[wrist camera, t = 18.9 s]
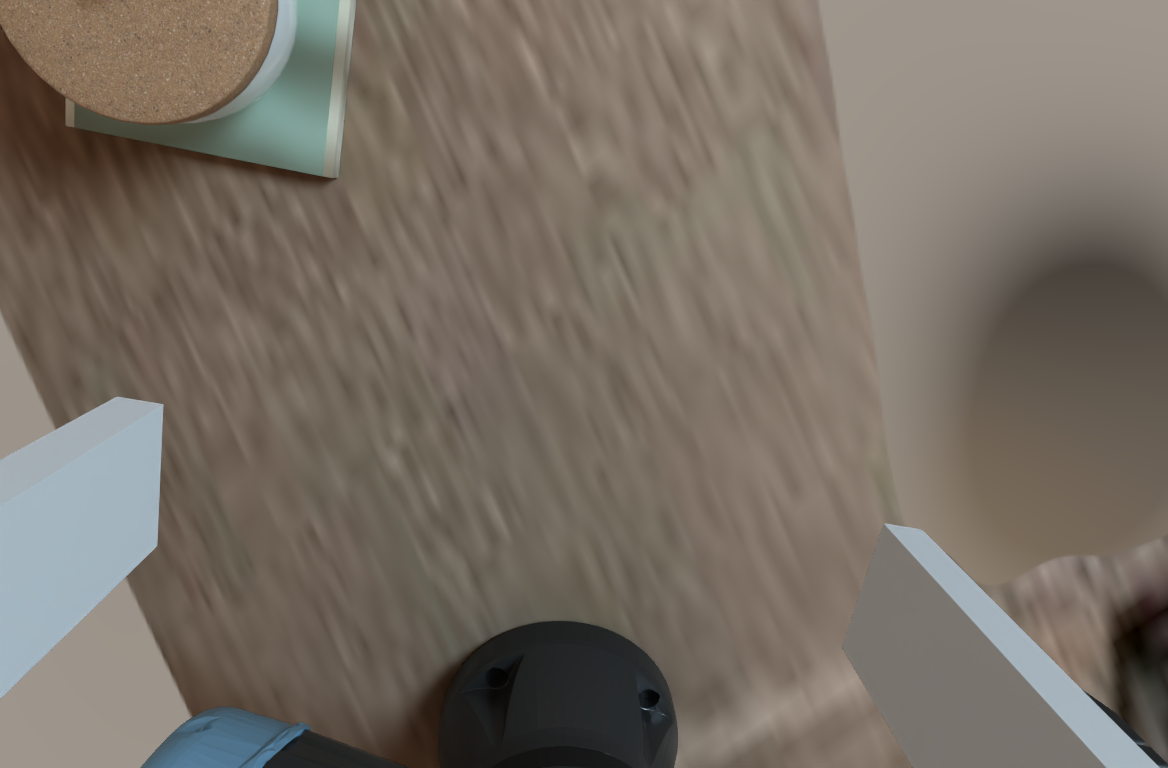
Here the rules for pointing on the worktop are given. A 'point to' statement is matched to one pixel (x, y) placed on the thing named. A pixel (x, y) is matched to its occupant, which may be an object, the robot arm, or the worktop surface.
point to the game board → (271, 105)
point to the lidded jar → (155, 53)
